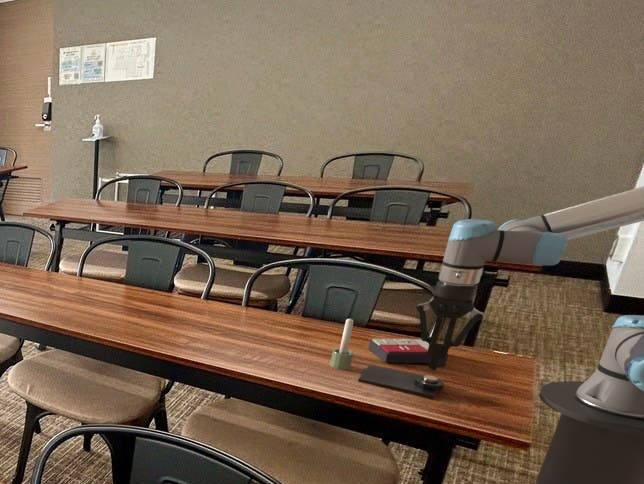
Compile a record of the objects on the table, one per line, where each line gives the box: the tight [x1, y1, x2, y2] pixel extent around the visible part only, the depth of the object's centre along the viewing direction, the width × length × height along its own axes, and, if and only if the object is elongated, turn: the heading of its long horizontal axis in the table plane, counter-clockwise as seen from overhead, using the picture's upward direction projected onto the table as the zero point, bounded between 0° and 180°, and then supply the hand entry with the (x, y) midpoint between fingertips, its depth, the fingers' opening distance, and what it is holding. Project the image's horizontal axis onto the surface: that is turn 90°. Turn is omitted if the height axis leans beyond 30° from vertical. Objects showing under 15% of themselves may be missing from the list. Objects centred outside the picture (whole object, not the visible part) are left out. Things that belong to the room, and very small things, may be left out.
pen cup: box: [329, 348, 354, 371], centre depth 168 cm, size 5×5×5 cm
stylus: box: [339, 318, 355, 355], centre depth 166 cm, size 2×2×15 cm
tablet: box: [357, 364, 445, 400], centre depth 157 cm, size 17×12×2 cm
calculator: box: [368, 338, 449, 366], centre depth 172 cm, size 11×4×15 cm
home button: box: [423, 374, 439, 384], centre depth 153 cm, size 3×3×1 cm
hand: (432, 367), depth 152 cm, fingers closed
